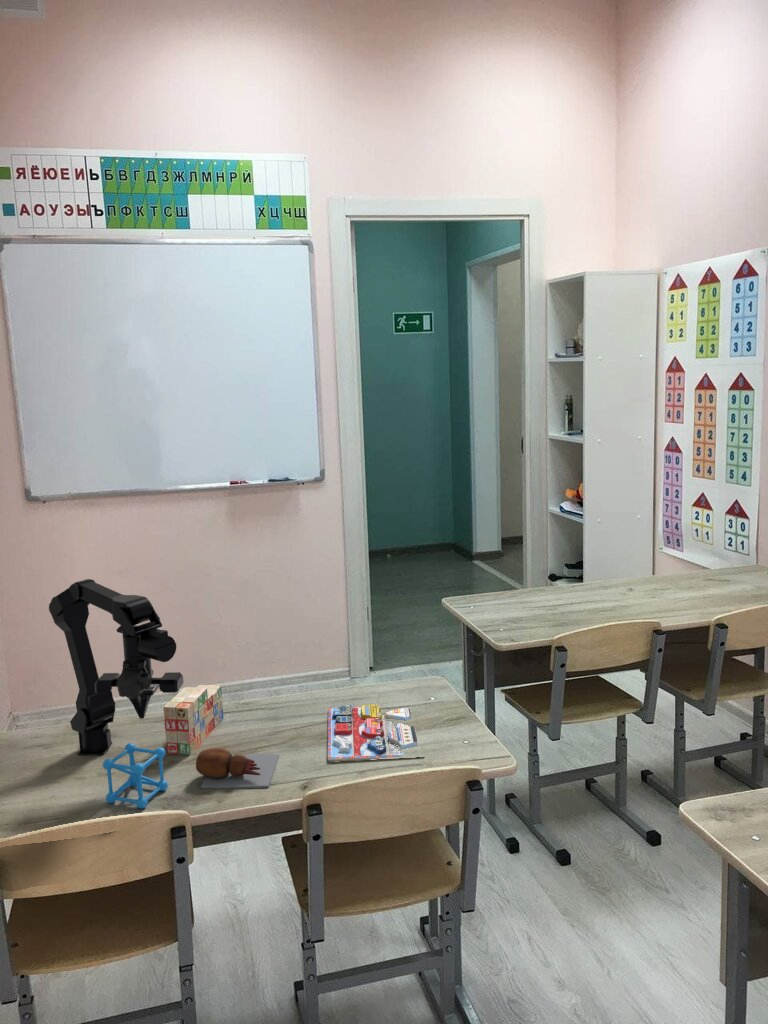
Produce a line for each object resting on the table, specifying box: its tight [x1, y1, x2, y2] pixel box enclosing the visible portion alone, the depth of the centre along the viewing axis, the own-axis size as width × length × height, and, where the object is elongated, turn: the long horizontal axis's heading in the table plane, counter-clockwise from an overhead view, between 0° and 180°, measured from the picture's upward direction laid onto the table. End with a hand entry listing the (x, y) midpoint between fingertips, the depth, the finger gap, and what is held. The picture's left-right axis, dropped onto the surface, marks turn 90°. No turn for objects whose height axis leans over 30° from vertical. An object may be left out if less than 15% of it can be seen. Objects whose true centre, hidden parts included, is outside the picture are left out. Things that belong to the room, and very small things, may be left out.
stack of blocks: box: [163, 684, 225, 756], centre depth 210 cm, size 21×6×12 cm, turn 169°
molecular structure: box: [102, 742, 169, 809], centre depth 181 cm, size 10×10×10 cm
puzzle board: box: [327, 703, 418, 763], centre depth 210 cm, size 30×23×3 cm
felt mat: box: [200, 753, 280, 789], centre depth 191 cm, size 15×15×1 cm
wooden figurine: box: [195, 747, 260, 778], centre depth 188 cm, size 7×6×15 cm
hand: (142, 718), depth 191 cm, fingers closed
